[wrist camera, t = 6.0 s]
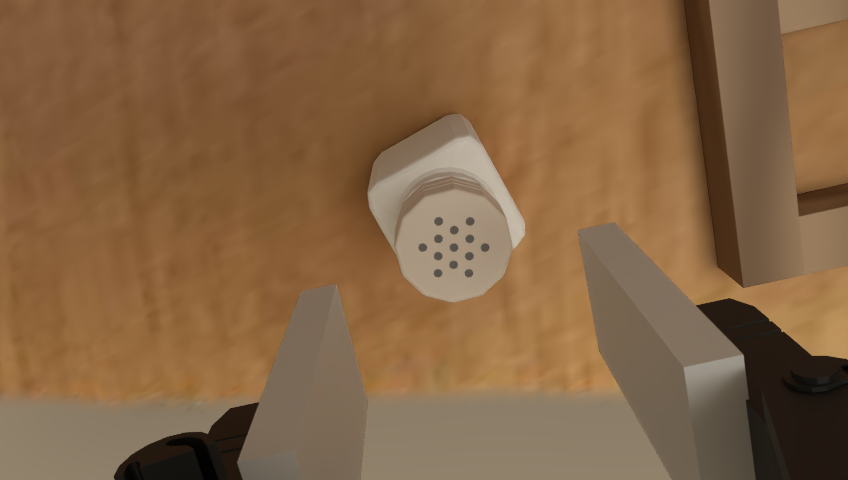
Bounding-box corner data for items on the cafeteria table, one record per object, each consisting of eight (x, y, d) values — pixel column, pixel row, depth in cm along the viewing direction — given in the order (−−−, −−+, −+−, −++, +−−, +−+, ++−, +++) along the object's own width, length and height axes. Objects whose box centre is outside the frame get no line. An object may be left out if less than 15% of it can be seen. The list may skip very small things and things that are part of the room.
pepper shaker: (367, 157, 31) (351, 220, 22) (460, 104, 30) (483, 146, 21) (420, 245, 32) (425, 341, 23) (510, 196, 31) (553, 273, 22)
